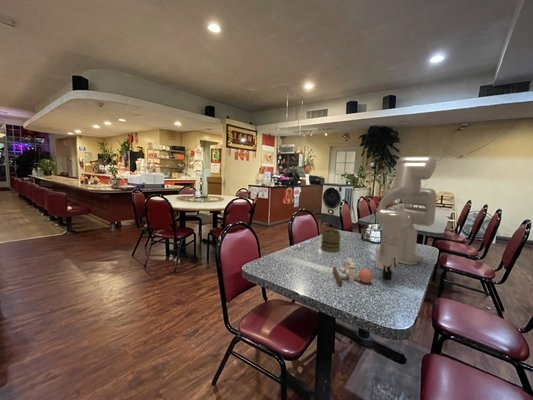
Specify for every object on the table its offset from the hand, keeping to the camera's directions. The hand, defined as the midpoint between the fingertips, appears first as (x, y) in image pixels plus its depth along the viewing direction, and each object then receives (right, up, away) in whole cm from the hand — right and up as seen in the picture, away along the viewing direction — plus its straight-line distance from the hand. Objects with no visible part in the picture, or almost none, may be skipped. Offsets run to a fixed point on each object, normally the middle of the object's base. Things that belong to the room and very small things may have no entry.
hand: (386, 279), depth 110 cm
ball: (-10, +2, -1) cm, 10 cm away
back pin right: (-16, -1, +4) cm, 17 cm away
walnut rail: (-22, 0, +2) cm, 22 cm away
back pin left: (-16, -1, -1) cm, 17 cm away
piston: (-13, +4, +46) cm, 48 cm away
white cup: (+7, 0, +18) cm, 20 cm away
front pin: (-13, 0, +1) cm, 13 cm away
